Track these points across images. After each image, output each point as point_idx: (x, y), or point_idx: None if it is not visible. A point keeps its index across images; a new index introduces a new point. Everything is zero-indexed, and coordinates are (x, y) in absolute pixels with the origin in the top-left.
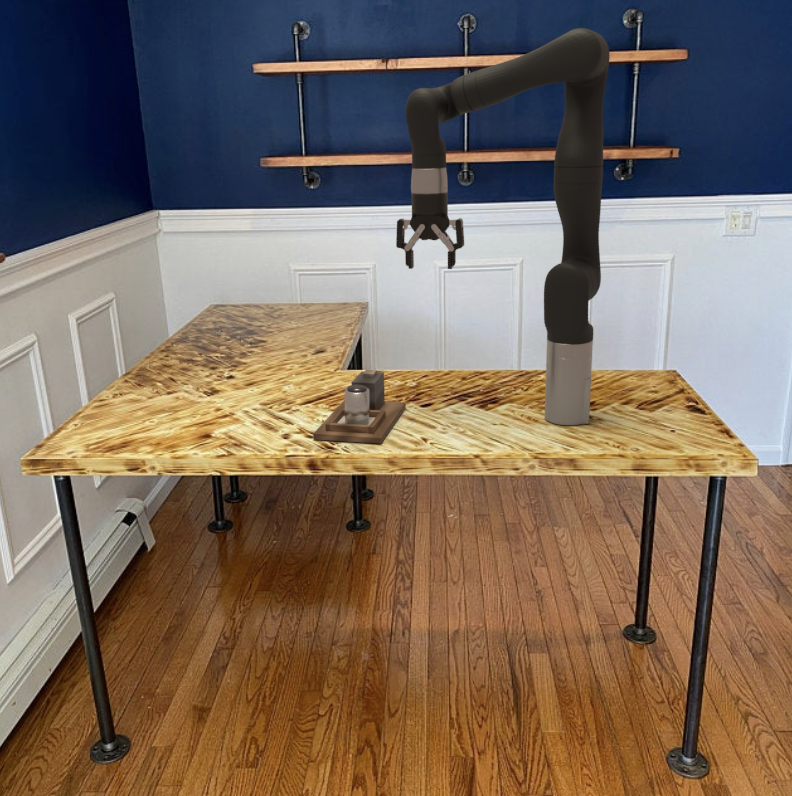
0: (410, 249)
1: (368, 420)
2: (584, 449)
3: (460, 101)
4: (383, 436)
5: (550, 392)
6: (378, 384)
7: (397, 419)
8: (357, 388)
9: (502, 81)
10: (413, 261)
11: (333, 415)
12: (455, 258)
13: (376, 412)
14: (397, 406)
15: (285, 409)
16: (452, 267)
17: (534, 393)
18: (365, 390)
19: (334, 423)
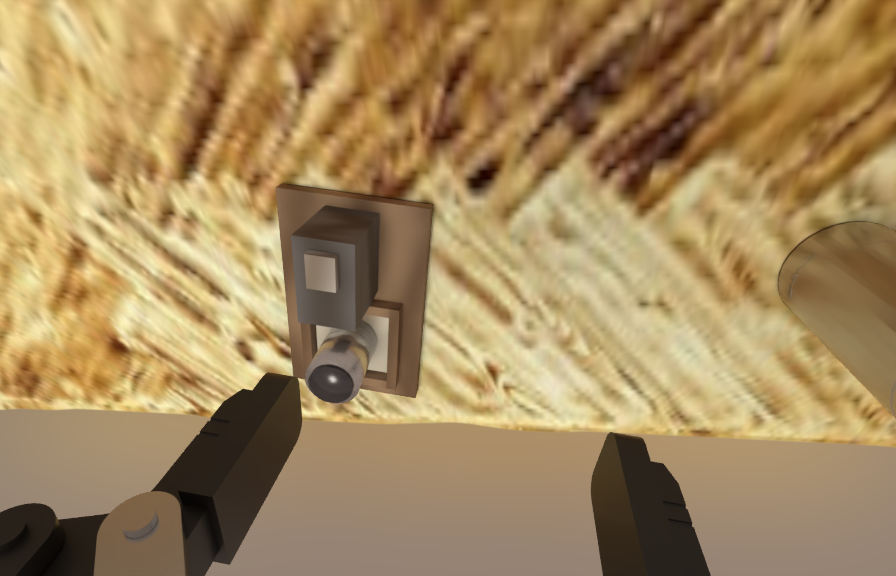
0: (203, 572)
1: (375, 347)
2: (794, 422)
3: None
4: (417, 381)
5: (822, 340)
6: (359, 290)
7: (426, 282)
8: (333, 391)
9: None
10: (274, 411)
11: (301, 333)
12: (689, 529)
13: (381, 315)
14: (415, 238)
15: (165, 213)
16: (638, 438)
17: (838, 48)
18: (352, 391)
19: None
